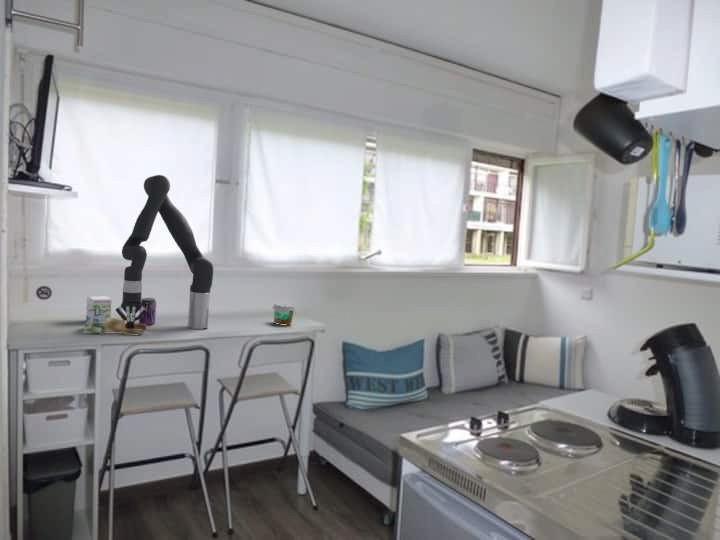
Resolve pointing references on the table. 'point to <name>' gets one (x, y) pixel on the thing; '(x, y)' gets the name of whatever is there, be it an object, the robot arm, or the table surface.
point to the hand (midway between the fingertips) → (130, 329)
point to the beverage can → (148, 311)
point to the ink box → (98, 308)
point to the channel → (97, 326)
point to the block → (114, 325)
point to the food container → (283, 314)
